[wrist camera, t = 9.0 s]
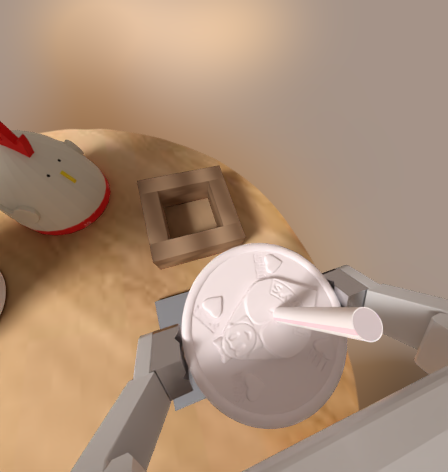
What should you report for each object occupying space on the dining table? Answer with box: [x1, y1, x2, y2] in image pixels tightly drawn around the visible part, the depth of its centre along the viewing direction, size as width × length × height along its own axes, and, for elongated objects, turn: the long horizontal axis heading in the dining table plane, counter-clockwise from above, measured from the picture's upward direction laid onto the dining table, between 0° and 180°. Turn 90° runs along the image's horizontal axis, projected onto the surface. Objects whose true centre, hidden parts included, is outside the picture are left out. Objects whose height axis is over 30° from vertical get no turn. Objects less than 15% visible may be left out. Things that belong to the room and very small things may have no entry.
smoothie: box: [182, 243, 383, 429], centre depth 10 cm, size 6×6×14 cm
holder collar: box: [137, 166, 246, 269], centre depth 31 cm, size 13×13×5 cm
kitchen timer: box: [0, 122, 110, 235], centre depth 26 cm, size 14×14×15 cm
